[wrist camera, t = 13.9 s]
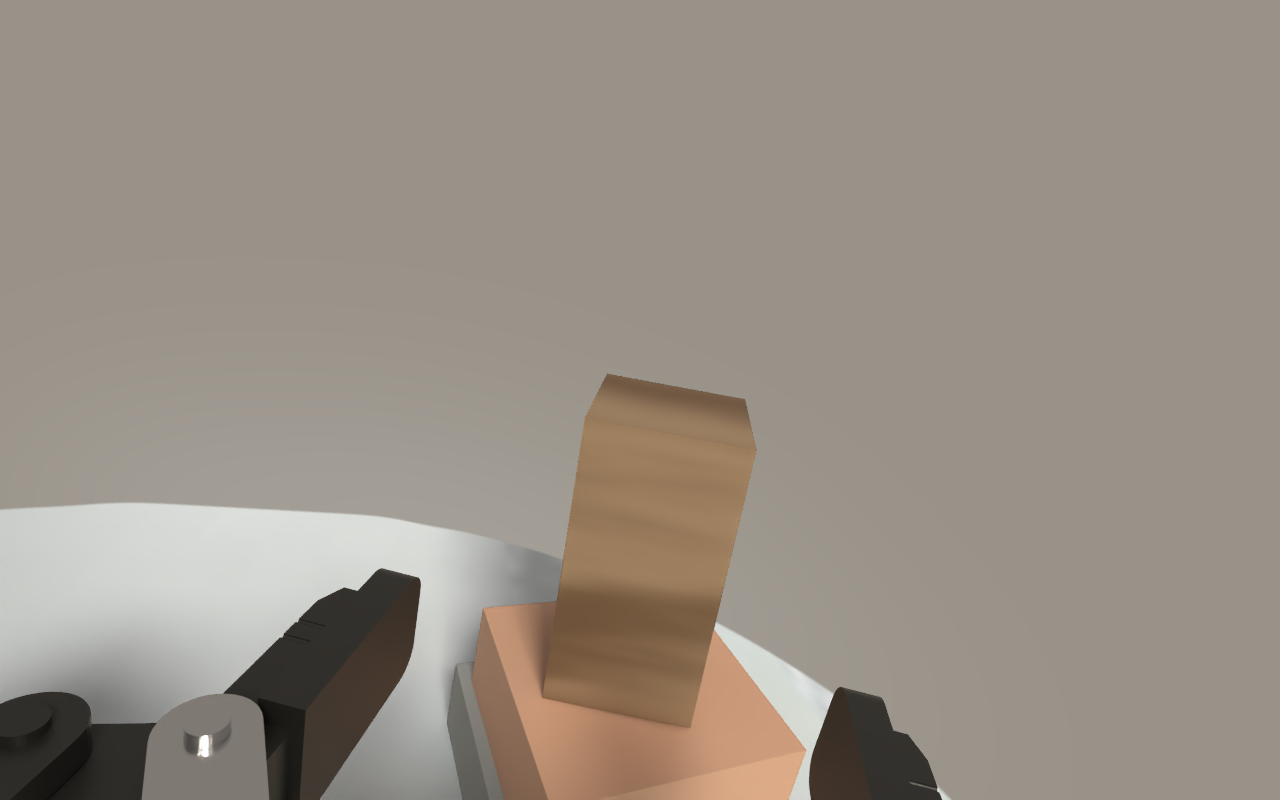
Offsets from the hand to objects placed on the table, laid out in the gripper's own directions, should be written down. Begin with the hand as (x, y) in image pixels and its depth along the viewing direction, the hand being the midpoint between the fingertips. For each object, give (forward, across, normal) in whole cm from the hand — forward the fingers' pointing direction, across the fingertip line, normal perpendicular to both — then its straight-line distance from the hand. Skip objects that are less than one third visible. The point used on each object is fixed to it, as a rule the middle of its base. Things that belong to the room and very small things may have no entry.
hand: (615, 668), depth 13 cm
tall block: (+10, 0, +8) cm, 13 cm away
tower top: (+10, -1, +12) cm, 15 cm away
